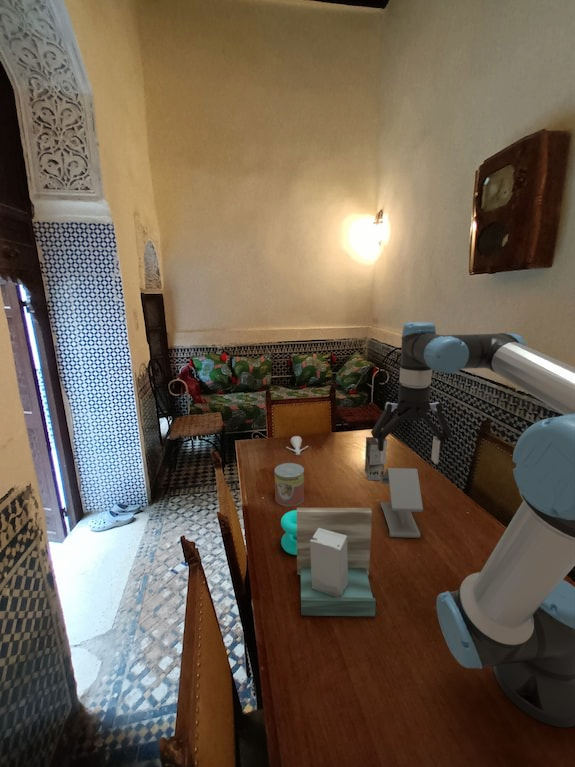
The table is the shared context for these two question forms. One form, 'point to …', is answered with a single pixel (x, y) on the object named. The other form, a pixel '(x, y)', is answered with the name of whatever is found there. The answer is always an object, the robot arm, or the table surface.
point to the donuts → (290, 532)
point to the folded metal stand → (402, 502)
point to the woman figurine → (296, 444)
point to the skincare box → (329, 562)
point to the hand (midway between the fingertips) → (408, 461)
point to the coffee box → (373, 460)
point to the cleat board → (358, 550)
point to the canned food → (289, 484)
